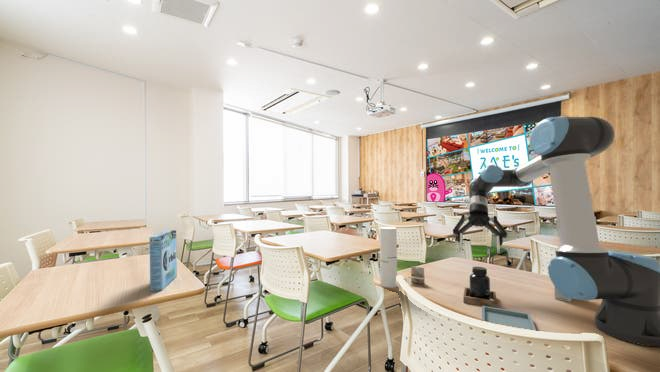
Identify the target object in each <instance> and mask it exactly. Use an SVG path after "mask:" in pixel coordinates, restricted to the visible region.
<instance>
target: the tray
mask: <svg viewBox="0 0 660 372" xmlns="http://www.w3.org/2000/svg"><path fill="white" fill-rule="evenodd" d="M482 321H487V322H491V323H495V324H501V325H506V326H512V327H517V328H524V329H530V330H536V331H537V328H536V326H535V323H534V321H533V317H532V315H531V314H530V313H527V312H522V311H517V310H510V309H504V308H499V307H497V308H494V307H488V306H482V305H481V322H482Z"/></svg>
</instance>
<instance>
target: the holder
mask: <svg viewBox="0 0 660 372" xmlns="http://www.w3.org/2000/svg"><path fill="white" fill-rule="evenodd" d="M468 295H470V287H466V286H465V287H464V290H463V299H462V300H463V303H465V304H470V305H476V306H481V307H482V306H487V307H493V308H498V307H497V306H498V302H497V293H496V291H493V290H490V298H493V300H492V299H490V300H487V299H481V298H474V297H470V296H468Z"/></svg>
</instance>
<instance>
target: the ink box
mask: <svg viewBox="0 0 660 372" xmlns="http://www.w3.org/2000/svg"><path fill="white" fill-rule="evenodd" d="M554 299H555V300H559V301H564V302H568V303H571V302H572V298H569V297H567V296H565V295H564V294H562V293H561V292H560V291H559V290H558V288H556V287H555V286H554Z"/></svg>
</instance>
